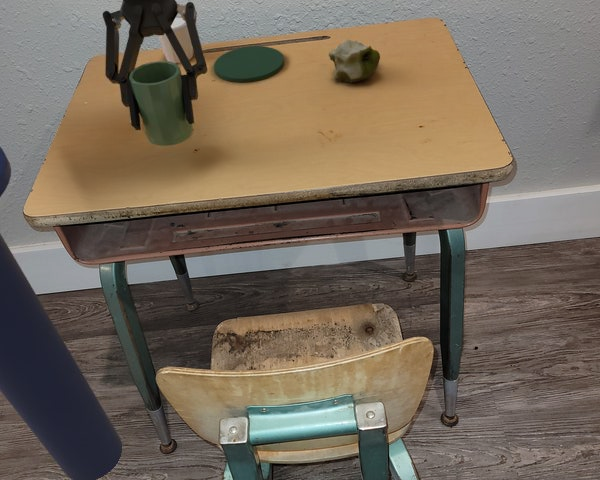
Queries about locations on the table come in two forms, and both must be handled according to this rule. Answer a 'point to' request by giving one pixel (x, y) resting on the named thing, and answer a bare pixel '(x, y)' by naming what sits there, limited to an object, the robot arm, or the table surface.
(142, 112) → the green cup
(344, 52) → the grey and green rock
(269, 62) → the green mat
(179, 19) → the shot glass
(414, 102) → the table surface
